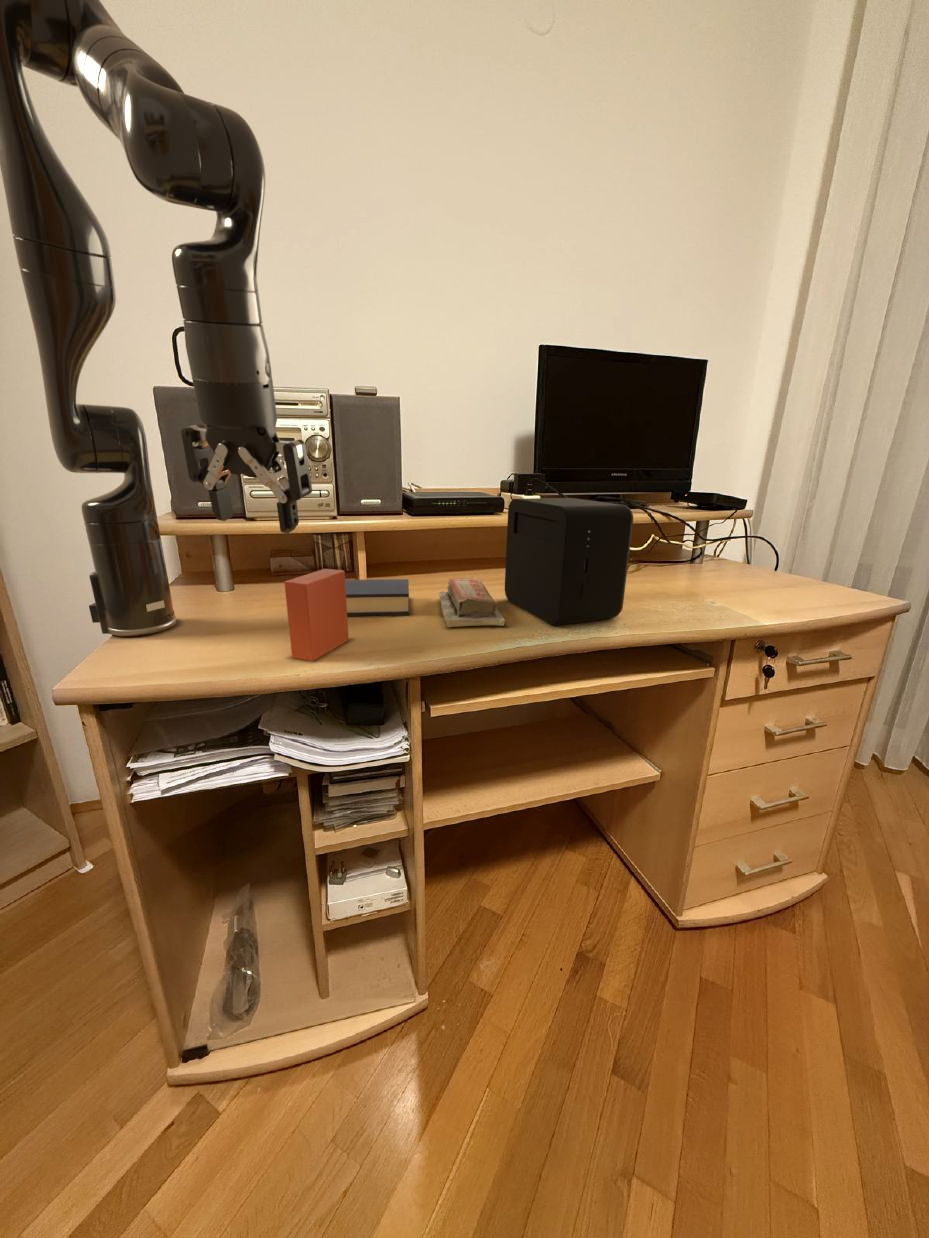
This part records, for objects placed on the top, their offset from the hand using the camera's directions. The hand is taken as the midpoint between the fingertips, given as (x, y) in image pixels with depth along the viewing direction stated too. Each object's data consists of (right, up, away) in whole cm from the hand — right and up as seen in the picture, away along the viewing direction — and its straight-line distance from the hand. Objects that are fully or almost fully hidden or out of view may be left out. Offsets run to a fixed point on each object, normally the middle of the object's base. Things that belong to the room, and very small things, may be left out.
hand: (256, 524), depth 58 cm
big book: (+7, -9, +34) cm, 36 cm away
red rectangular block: (+4, -16, +14) cm, 21 cm away
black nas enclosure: (+43, -10, +35) cm, 57 cm away
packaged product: (+26, -10, +32) cm, 42 cm away
